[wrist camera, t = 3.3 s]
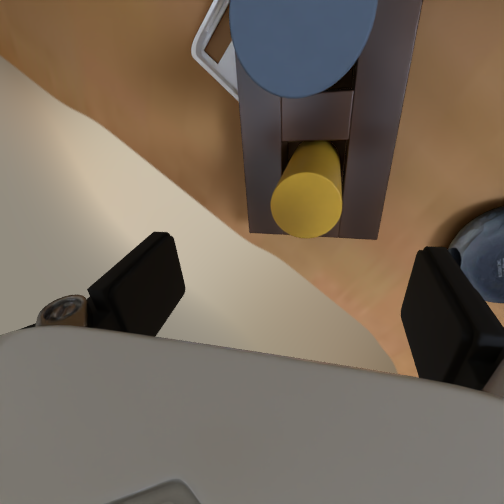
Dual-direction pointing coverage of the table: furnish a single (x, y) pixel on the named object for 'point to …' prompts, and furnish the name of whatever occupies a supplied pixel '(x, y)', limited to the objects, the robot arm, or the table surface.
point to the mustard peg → (309, 191)
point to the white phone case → (227, 64)
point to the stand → (335, 126)
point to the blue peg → (299, 41)
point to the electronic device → (482, 254)
